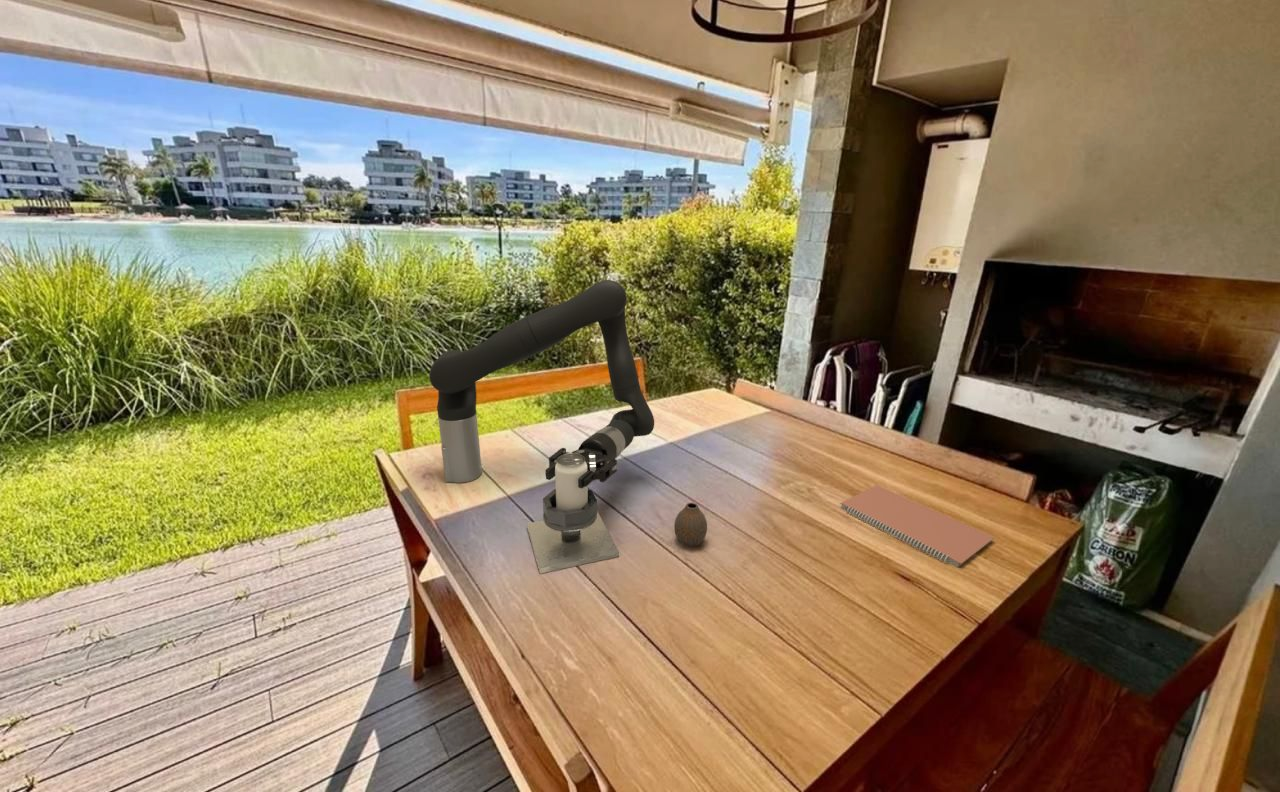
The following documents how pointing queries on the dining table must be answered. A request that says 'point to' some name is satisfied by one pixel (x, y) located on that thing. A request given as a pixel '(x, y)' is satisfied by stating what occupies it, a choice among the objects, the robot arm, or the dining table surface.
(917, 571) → the dining table surface
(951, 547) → the notebook
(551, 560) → the cup bracket
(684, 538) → the vase
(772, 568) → the dining table surface
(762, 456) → the dining table surface
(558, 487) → the can
